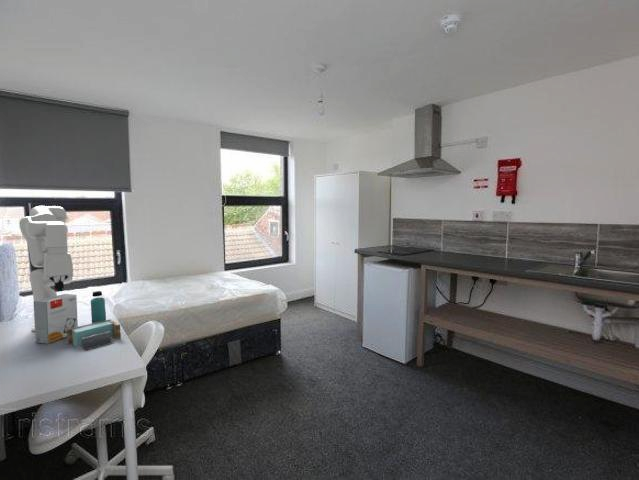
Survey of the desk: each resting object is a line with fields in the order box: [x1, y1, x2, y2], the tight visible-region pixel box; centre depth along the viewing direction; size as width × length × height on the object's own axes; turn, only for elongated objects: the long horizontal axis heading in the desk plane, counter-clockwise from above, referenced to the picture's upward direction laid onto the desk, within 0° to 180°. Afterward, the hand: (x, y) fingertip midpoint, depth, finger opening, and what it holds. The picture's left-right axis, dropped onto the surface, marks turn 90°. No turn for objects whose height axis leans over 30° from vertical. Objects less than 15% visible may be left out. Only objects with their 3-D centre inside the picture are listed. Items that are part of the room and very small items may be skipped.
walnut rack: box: [67, 319, 122, 345], centre depth 154 cm, size 12×18×7 cm
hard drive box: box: [33, 293, 79, 345], centre depth 158 cm, size 16×8×20 cm, turn 168°
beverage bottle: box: [90, 290, 107, 324], centre depth 169 cm, size 6×7×20 cm
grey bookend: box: [82, 331, 115, 352], centre depth 149 cm, size 5×11×4 cm, turn 141°
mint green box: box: [72, 321, 114, 348], centre depth 155 cm, size 6×15×7 cm, turn 143°
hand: (59, 290), depth 147 cm, fingers closed
